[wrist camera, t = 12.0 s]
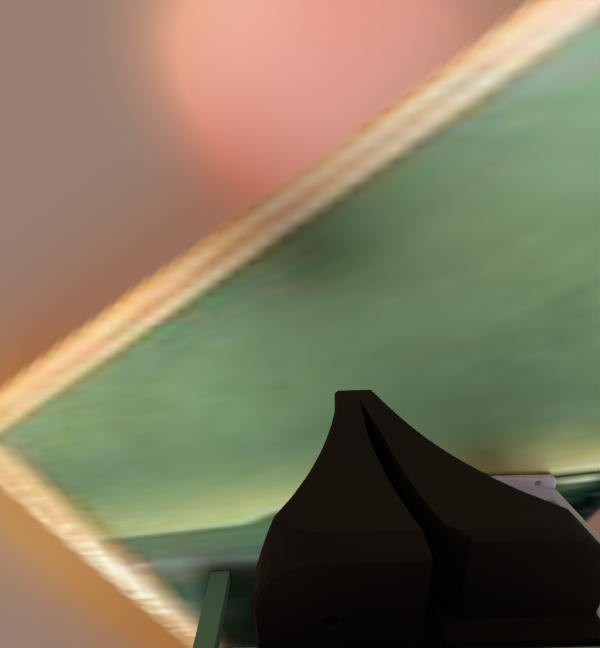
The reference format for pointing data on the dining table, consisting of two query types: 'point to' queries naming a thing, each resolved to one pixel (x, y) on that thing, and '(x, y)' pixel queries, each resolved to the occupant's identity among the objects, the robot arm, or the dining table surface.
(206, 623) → the shelf
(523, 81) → the dining table surface
